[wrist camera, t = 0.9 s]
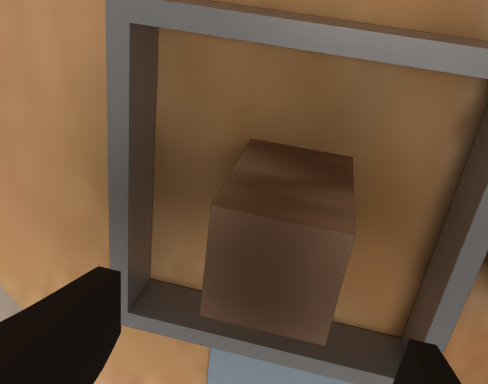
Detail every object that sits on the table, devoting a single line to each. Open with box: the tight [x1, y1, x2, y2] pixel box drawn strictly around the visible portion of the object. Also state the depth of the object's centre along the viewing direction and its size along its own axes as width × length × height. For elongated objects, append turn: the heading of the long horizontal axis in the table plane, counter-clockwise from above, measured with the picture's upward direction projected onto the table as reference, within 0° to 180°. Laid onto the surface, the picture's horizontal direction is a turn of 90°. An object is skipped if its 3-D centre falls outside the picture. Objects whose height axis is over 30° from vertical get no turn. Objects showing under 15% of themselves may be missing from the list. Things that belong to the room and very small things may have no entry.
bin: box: [106, 0, 488, 384], centre depth 17 cm, size 14×14×2 cm
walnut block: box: [200, 139, 355, 346], centre depth 16 cm, size 4×4×6 cm
